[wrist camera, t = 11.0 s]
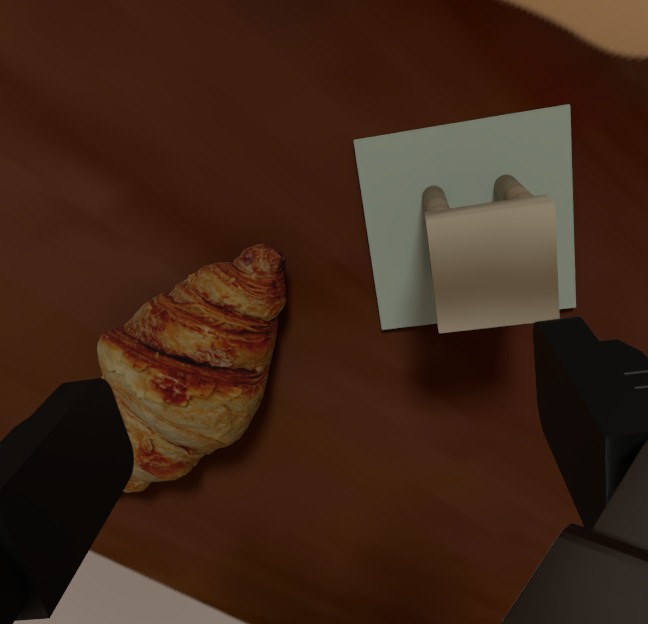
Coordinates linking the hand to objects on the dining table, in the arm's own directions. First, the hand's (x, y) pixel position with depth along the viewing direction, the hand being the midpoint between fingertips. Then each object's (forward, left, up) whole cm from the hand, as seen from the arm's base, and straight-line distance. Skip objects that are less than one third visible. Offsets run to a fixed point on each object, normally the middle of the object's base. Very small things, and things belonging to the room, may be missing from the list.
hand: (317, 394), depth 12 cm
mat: (+3, +5, -24) cm, 25 cm away
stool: (+3, +5, -24) cm, 25 cm away
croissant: (+10, -13, -25) cm, 29 cm away
